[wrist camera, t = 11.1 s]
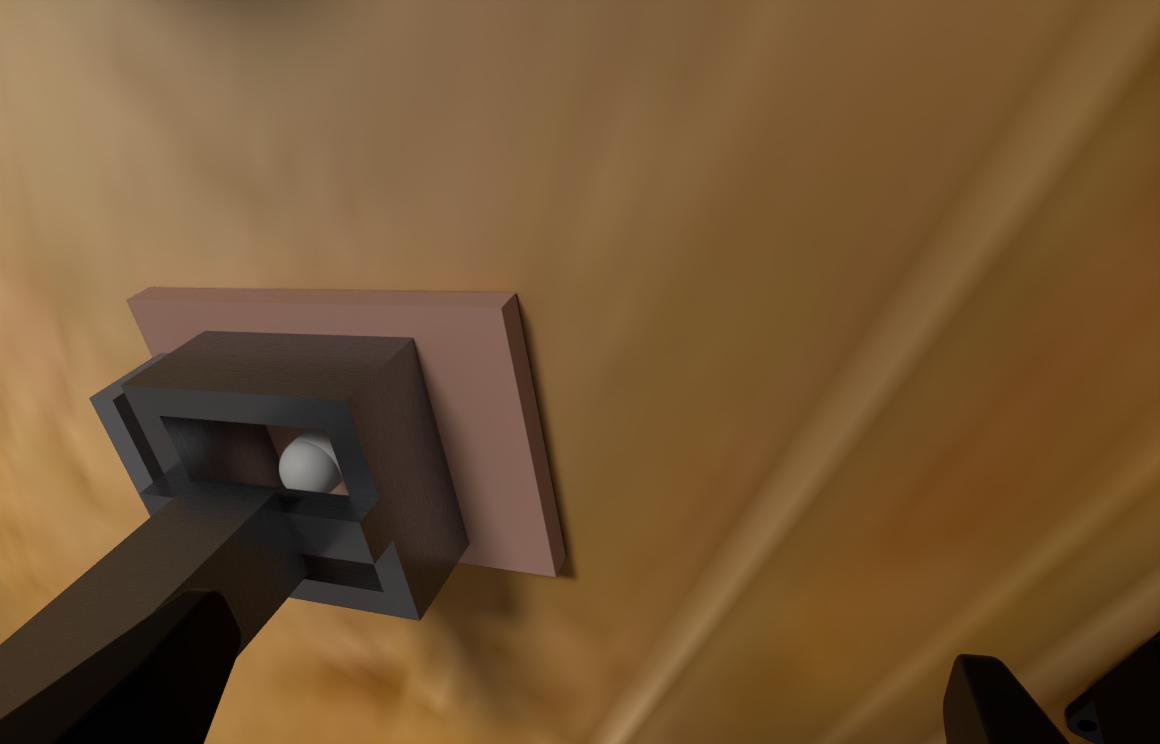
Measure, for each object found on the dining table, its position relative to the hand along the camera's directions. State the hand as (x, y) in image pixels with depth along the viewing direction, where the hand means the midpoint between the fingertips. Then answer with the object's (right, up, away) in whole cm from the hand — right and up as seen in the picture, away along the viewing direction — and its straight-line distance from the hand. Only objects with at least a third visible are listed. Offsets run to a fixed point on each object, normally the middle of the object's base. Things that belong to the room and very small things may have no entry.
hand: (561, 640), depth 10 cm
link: (-8, +1, +17) cm, 19 cm away
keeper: (-8, +1, +18) cm, 19 cm away
